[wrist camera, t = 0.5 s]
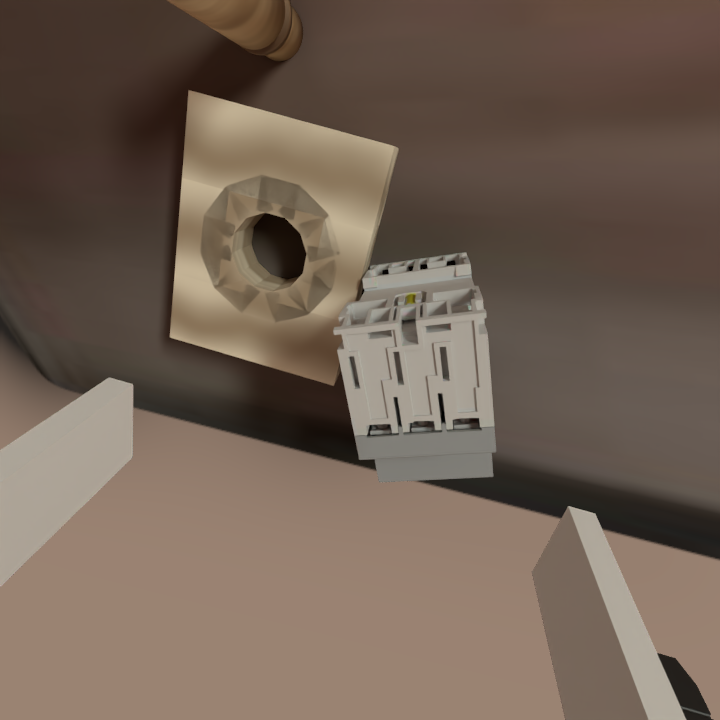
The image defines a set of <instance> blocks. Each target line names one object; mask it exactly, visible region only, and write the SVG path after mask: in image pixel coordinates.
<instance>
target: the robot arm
mask: <svg viewBox="0 0 720 720" xmlns="http://www.w3.org/2000/svg"><path fill="white" fill-rule="evenodd" d="M132 457H133V384H130V383H127V382H123V381H120V380H116V379H112V378H108V379H106V380H105V381H103V382H102V383H100V384H99V385H97V386H96V387H94V388H93V389H91V390H90V391H88V392H87V393H85V394H84V395H82V396H81V397H79V398H78V399H76V400H75V401H73V402H72V403H70V404H69V405H67V406H66V407H64V408H63V409H61V410H60V411H58V412H57V413H55V414H53V415H52V416H50V417H49V418H48V419H46V420H44V421H43V422H42V423H40V424H38V425H37V426H35V427H34V428H33V429H31V430H29V431H28V432H27V433H25V434H23V435H22V436H20V437H19V438H18V439H16V440H14V441H13V442H12V443H10V444H8V445H7V446H6V447H4V448H2V449H1V450H0V587H1V586H2V585H3V584H4V583H5V582H6V581H7V580H8V579H9V578H10V577H11V576H12V575H13V574H14V573H15V572H16V571H17V570H18V569H19V568H20V567H21V566H22V565H23V564H24V563H25V562H26V561H27V560H28V559H29V558H30V557H32V555H34V554H35V553H36V552H37V550H39V549H40V548H41V547H42V546H43V545H44V544H45V543H46V542H47V541H48V540H49V539H50V538H51V537H52V536H53V535H54V534H55V533H56V532H57V531H58V530H59V529H60V528H61V527H62V526H63V525H64V524H65V523H66V522H67V521H68V520H69V519H70V518H71V517H72V516H73V515H74V514H75V513H76V512H77V511H78V510H79V509H80V508H81V507H82V506H84V504H86V503H87V502H88V501H89V500H90V499H91V498H92V497H93V496H94V495H95V494H96V493H97V492H98V491H99V490H100V489H101V488H102V487H103V486H104V485H105V484H106V483H107V482H108V481H109V480H110V479H111V478H112V477H113V476H114V475H115V474H116V473H117V472H118V471H119V470H120V469H121V468H122V467H123V466H124V465H125V464H126V463H127V462H128V461H129V460H130V459H132ZM532 576H533V580H534V585H535V589H536V593H537V597H538V602H539V607H540V611H541V615H542V620H543V624H544V629H545V633H546V637H547V642H548V646H549V650H550V655H551V659H552V664H553V668H554V673H555V677H556V681H557V686H558V690H559V694H560V698H561V703H562V708H563V712H564V716H565V720H713V719H711V717H710V715H711V714H710V711H709V710H708V708H707V705H706V703H705V701H704V699H703V697H702V695H701V693H700V691H699V689H698V687H697V685H696V684H695V683H694V681H693V680H692V679H691V677H690V676H689V675H688V674H687V672H686V671H685V670H684V669H683V667H682V666H681V665H680V664H679V662H678V661H677V660H676V658H672V657H669V656H666V655H662V654H659V653H657V652H656V650H655V648H654V646H653V644H652V641H651V639H650V637H649V634H648V632H647V630H646V628H645V625H644V623H643V621H642V619H641V616H640V614H639V612H638V609H637V607H636V605H635V603H634V600H633V598H632V596H631V594H630V591H629V589H628V587H627V585H626V582H625V580H624V578H623V576H622V573H621V571H620V569H619V567H618V564H617V562H616V560H615V558H614V555H613V553H612V551H611V549H610V546H609V544H608V542H607V539H606V537H605V536H604V533H603V530H602V528H601V526H600V524H599V521H598V519H597V517H596V515H595V514H594V513H591V512H587V511H584V510H580V509H577V508H573V507H569V506H568V508H567V510H566V511H565V513H564V515H563V517H562V519H561V520H560V522H559V524H558V526H557V528H556V530H555V531H554V533H553V535H552V537H551V539H550V540H549V543H548V544H547V546H546V548H545V549H544V551H543V553H542V555H541V557H540V558H539V560H538V562H537V564H536V566H535V567H534V569H533V571H532Z"/></svg>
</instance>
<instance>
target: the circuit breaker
mask: <svg viewBox="0 0 720 720" xmlns="http://www.w3.org/2000/svg"><path fill="white" fill-rule="evenodd" d="M452 260H455V263H456V265H450V266H447V261H452ZM424 264H427V267H428V269H422V270H421V266H420V265H424ZM409 266H414V267H413V271H409ZM370 269H371V270H368V271H367V272H366V274H365V275H364V277H363V279H362V280H363V289H364V293H363V295H362V297H361V298H360V300H359V301H355V302H347V303H346V305H345V306H344V308H343V310H342V311H341V313H340V315H339V317H338V318H339V323H340V327H334V330H333V332H334V335H339V334H341V335H342V342H341V344H340V346H339V347H338V349H337V352H338V357H339V362H340V367H341V372H342V376H343V381H344V386H345V391H346V396H347V401H348V406H349V411H350V416H351V421H352V426H353V431H354V436H355V441H356V446H357V451H358V455H359V460H369V459H375V464H376V469H377V474H378V480H379V482H395V481H416V480H437V479H458V478H479V477H493V466H492V453H493V452H496V443H495V429H494V415H493V401H492V387H491V373H490V359H489V345H488V333H487V330H486V327H485V323H484V318H487V317H486V310H485V309H484V310H483V299H482V295H481V292H480V290H479V287H478V286H474V283H473V280H472V277H471V265H470V261H469V259H468V256H467V253H466V252H464V253H457V254H450V255H443V256H436V257H429V258H422V259H415V260H408V261H401V262H394V263H387V264H380V265H373V266H370ZM383 270H388V271H389V274H386V275H383Z"/></svg>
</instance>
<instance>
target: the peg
mask: <svg viewBox="0 0 720 720" xmlns="http://www.w3.org/2000/svg"><path fill="white" fill-rule="evenodd" d="M167 1H168V2H170V3H172V4H173V5H175V6H176V7H178V8H180V9H181V10H183V11H185V12H186V13H188V14H189V15H191V16H193V17H194V18H196V19H198V20H199V21H201V22H202V23H204V24H206V25H207V26H209V27H210V28H212V29H214V30H215V31H217V32H219V33H220V34H222V35H223V36H225V37H227V38H228V39H230V40H232V41H233V42H235V43H236V44H238V45H239V46H240V47H242V48H243V49H244V50H246V51H248V52H250V53H252V54H255V55H262V56H264V55H265V56H266V57H268V58H270V59H272V60H274V61H285V60H288V59H290V58H291V57H293V56H294V55H295V54H296V53H297V51H298V50H299V48H300V46H301V43H302V38H303V27H302V22H301V19H300V17H299V15H298V14H297V12H296V11H295V10H294V8H293V7H292V6H291V3H290V0H167Z"/></svg>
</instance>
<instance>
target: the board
mask: <svg viewBox="0 0 720 720" xmlns="http://www.w3.org/2000/svg"><path fill="white" fill-rule="evenodd" d="M398 151H399V148H397V147H395V146H391V145H388V144H384V143H380V142H377V141H373V140H369V139H366V138H362V137H358V136H355V135H351V134H348V133H344V132H340V131H337V130H333V129H329V128H326V127H322V126H318V125H315V124H311V123H307V122H304V121H300V120H296V119H293V118H289V117H285V116H282V115H278V114H274V113H271V112H267V111H263V110H260V109H256V108H252V107H249V106H245V105H241V104H238V103H234V102H231V101H227V100H223V99H220V98H216V97H212V96H209V95H205V94H201V93H198V92H194V91H190V90H189V92H188V105H187V118H186V132H185V145H184V158H183V171H182V184H181V197H180V210H179V223H178V236H177V249H176V262H175V276H174V289H173V302H172V315H171V328H170V338H173V339H177V340H180V341H184V342H187V343H190V344H194V345H197V346H200V347H204V348H207V349H211V350H214V351H217V352H221V353H224V354H228V355H231V356H234V357H238V358H241V359H244V360H248V361H251V362H255V363H258V364H261V365H265V366H268V367H271V368H275V369H278V370H282V371H285V372H288V373H292V374H295V375H299V376H302V377H305V378H309V379H312V380H315V381H319V382H322V383H326V384H329V385H332V386H334V384H335V382H336V380H337V378H338V376H339V373H340V371H341V367H340V362H339V357H338V352H337V349H338V347H339V346H340V344H341V342H342V335H341V334H339V335H334V332H333V330H334V327H340V323H339V318H338V317H339V315H340V313H341V311H342V310H343V308H344V306H345V305H346V303H347V302H355V301H359V300H360V298H361V294H362V290H363V280H362V279H363V277H364V275H365V274H366V272H367V271H368V267H369V263H370V259H371V255H372V251H373V247H374V243H375V240H376V236H377V232H378V228H379V224H380V220H381V216H382V213H383V209H384V205H385V201H386V197H387V193H388V189H389V185H390V182H391V178H392V174H393V170H394V166H395V162H396V158H397V154H398ZM265 213H269V214H272V215H276V216H279V217H283V218H285V219H286V220H287V221H288V222H289V223H290V224H291V225H292V226H293V227H294V228H295V229H296V230H297V231H298V232H299V233H300V234H301V238H302V241H303V244H304V247H305V250H306V253H307V254H306V259H305V265H304V270H303V274H302V275H301V276H299V277H296V278H292V279H284V278H281V277H277V276H274V275H271V274H270V273H269V272H268V271H267V270H266V269H265V268H263V267H262V266H261V265H260V264H259V263H258V261H257V258H256V256H255V253H254V250H253V247H252V238H253V231H254V226H255V225H256V224H257V222H258V221H259V220H260V219H261V218H262V216H263V215H264V214H265Z"/></svg>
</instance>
